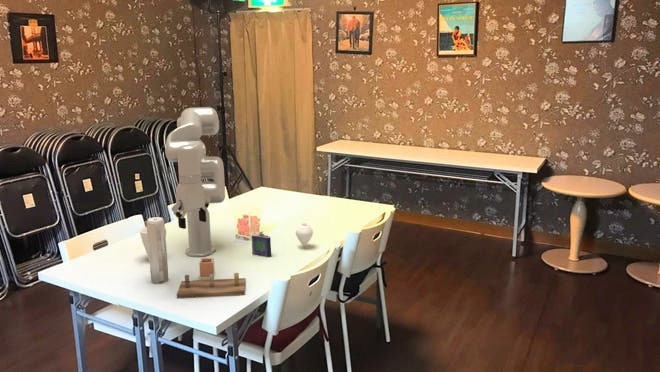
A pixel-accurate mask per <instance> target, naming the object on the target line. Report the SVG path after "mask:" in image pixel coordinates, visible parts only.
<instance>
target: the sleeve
mask: <svg viewBox="0 0 660 372" xmlns="http://www.w3.org/2000/svg"><path fill="white" fill-rule="evenodd" d="M210 274H214V278H215V277H216V271H215V258H214V257H210V258H209V257H206V258H202V257H201V258H200V260H199V280H210Z"/></svg>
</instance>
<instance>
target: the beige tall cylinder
mask: <svg viewBox="0 0 660 372" xmlns="http://www.w3.org/2000/svg"><path fill="white" fill-rule="evenodd" d="M146 227H147V237H148V249H149V261H148V262H149V271H150V281H151V283H152V284H155V285H160V284H165V283H167V282H168V281H169V279H170V278H169V276H170V275H169V263H168V251H167V239H166V237H167V235H166V236H165V227H166V226H165V220H164V218H163V217H161V216H156V217H149V218H148V219H147V221H146Z"/></svg>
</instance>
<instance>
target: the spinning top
mask: <svg viewBox="0 0 660 372" xmlns="http://www.w3.org/2000/svg"><path fill="white" fill-rule="evenodd" d="M313 234H314V231H313V228H311V226H310V225H308V224H307V221H306V222H305V221H302V222H301V225H298V227H297V228H296V230H295V236H296V238H297V240H298V242H300V243H301V245H302V246H303V248H304V249H305V248H306V246H307V245H308V244H309V242H310V240H311V239H312V237H313Z"/></svg>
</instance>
